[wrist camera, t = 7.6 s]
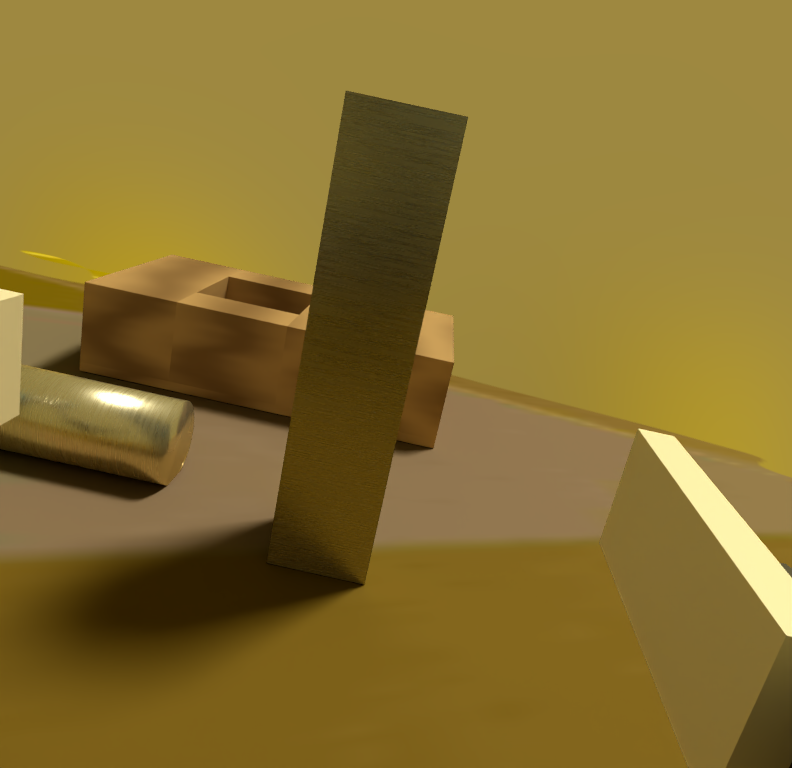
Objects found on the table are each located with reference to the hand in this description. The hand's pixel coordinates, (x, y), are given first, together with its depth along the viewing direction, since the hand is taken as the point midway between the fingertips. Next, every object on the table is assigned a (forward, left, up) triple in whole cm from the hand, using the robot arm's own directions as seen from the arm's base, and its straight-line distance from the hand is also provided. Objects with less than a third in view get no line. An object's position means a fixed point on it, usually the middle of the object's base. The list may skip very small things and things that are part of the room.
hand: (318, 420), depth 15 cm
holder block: (-6, +28, -9) cm, 30 cm away
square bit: (0, +10, -9) cm, 13 cm away
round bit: (-12, +14, -7) cm, 20 cm away
